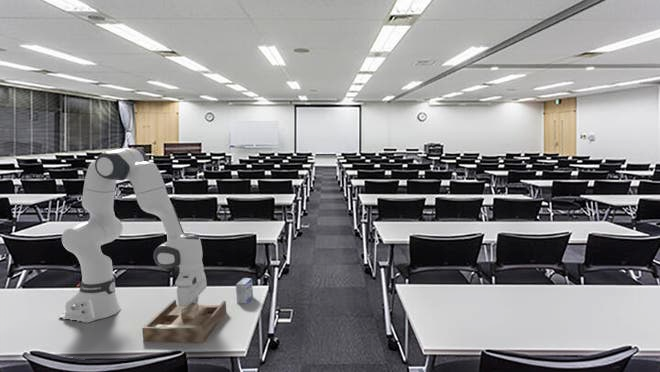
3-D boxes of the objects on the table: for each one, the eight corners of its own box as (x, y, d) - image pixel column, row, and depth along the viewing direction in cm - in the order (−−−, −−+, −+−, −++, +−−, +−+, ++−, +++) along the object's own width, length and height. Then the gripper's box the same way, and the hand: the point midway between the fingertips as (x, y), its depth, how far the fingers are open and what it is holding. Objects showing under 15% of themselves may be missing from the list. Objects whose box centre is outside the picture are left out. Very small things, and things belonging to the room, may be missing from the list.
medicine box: (246, 304, 187) (245, 284, 186) (236, 303, 188) (235, 284, 187) (253, 296, 195) (252, 278, 193) (243, 296, 195) (242, 277, 194)
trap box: (143, 341, 156) (142, 327, 156) (174, 311, 181) (173, 299, 180) (202, 343, 154) (202, 329, 153) (226, 312, 179) (225, 300, 178)
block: (181, 318, 167) (180, 308, 166) (186, 312, 172) (185, 303, 171) (194, 318, 167) (193, 308, 166) (198, 313, 172) (198, 303, 171)
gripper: (194, 265, 182) (196, 297, 184) (173, 283, 162) (175, 319, 164) (209, 265, 182) (211, 297, 184) (189, 284, 161) (192, 319, 163)
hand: (194, 308), depth 174 cm, fingers closed
